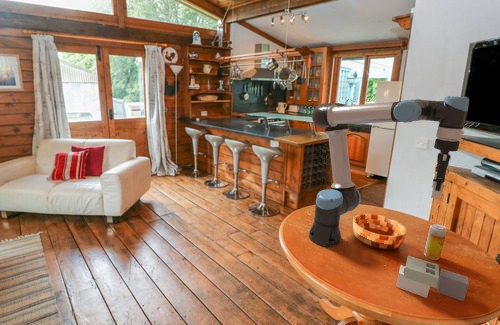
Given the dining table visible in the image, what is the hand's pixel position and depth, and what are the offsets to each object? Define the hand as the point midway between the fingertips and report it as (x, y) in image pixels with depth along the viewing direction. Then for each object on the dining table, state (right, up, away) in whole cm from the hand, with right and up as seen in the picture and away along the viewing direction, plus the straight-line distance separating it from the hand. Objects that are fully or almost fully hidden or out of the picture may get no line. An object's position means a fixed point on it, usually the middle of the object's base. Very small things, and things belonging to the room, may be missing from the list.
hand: (435, 193), depth 111 cm
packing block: (+1, -36, -6) cm, 36 cm away
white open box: (-12, -35, -5) cm, 37 cm away
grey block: (-10, -29, -7) cm, 32 cm away
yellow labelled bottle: (+8, -30, +16) cm, 35 cm away
